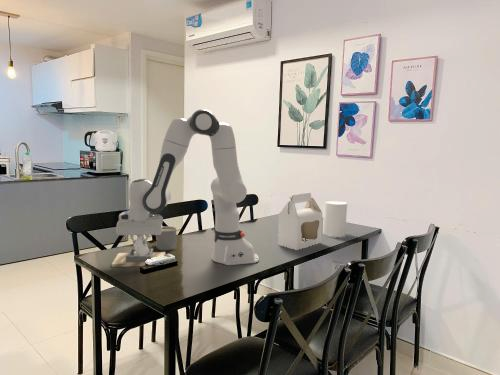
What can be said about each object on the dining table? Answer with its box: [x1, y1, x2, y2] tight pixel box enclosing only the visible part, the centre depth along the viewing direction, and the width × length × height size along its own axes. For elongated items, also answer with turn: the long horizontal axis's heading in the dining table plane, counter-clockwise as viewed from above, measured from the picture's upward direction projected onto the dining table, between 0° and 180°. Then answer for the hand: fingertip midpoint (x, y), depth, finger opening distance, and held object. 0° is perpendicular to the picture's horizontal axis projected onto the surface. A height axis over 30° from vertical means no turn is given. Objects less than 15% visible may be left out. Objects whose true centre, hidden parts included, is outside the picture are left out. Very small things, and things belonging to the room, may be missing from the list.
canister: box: [322, 200, 348, 238], centre depth 229 cm, size 14×14×20 cm
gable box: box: [277, 192, 323, 251], centre depth 206 cm, size 22×13×28 cm, turn 135°
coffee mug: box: [155, 225, 177, 251], centre depth 195 cm, size 13×10×10 cm
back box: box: [126, 248, 154, 262], centre depth 173 cm, size 11×12×2 cm
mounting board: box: [111, 251, 166, 268], centre depth 174 cm, size 22×16×1 cm
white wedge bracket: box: [133, 235, 150, 256], centre depth 173 cm, size 4×10×9 cm
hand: (139, 244), depth 173 cm, fingers open, 3 cm apart
